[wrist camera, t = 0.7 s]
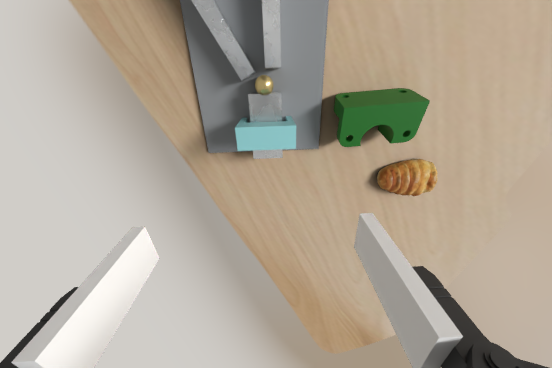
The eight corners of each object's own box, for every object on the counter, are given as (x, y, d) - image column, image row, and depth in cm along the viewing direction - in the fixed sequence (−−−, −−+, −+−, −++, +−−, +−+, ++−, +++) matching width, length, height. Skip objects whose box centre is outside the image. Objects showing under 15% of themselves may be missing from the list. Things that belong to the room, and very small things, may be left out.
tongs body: (231, -151, 20) (223, -196, 17) (275, -152, 20) (276, -197, 17) (255, 151, 34) (253, 158, 31) (281, 150, 34) (282, 157, 31)
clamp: (335, 120, 37) (326, 146, 31) (340, 85, 33) (330, 107, 27) (409, 127, 34) (416, 157, 28) (424, 89, 30) (436, 114, 24)
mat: (151, -160, 20) (148, -166, 20) (338, -164, 20) (340, -170, 20) (209, 151, 35) (208, 152, 34) (317, 147, 35) (318, 148, 35)
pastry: (371, 191, 40) (381, 202, 36) (378, 158, 37) (389, 166, 33) (419, 189, 40) (434, 199, 36) (430, 156, 37) (446, 164, 33)
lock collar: (242, 117, 32) (235, 127, 25) (290, 116, 32) (296, 125, 25) (243, 136, 33) (237, 150, 27) (290, 135, 33) (295, 148, 27)
